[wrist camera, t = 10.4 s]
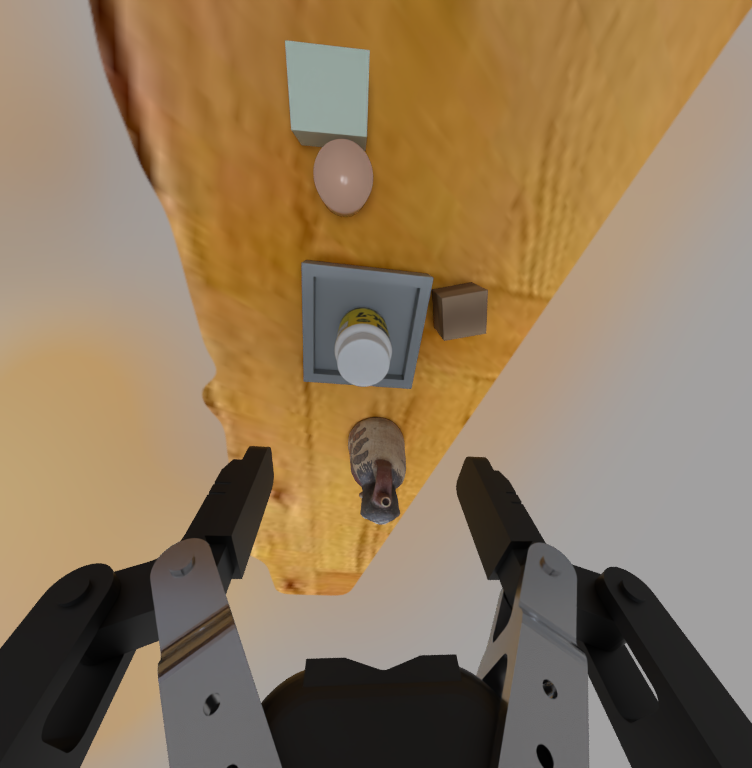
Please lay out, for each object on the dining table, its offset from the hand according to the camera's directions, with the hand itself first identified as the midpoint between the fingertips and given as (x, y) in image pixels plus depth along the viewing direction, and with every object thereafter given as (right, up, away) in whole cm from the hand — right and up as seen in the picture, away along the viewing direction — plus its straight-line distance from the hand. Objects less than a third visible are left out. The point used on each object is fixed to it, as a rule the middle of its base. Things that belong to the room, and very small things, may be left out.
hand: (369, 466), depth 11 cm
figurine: (0, -4, +25) cm, 26 cm away
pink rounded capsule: (-2, +20, +12) cm, 23 cm away
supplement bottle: (-1, +9, +17) cm, 19 cm away
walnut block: (+8, +12, +17) cm, 22 cm away
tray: (-1, +10, +18) cm, 20 cm away
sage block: (-3, +24, +10) cm, 26 cm away
